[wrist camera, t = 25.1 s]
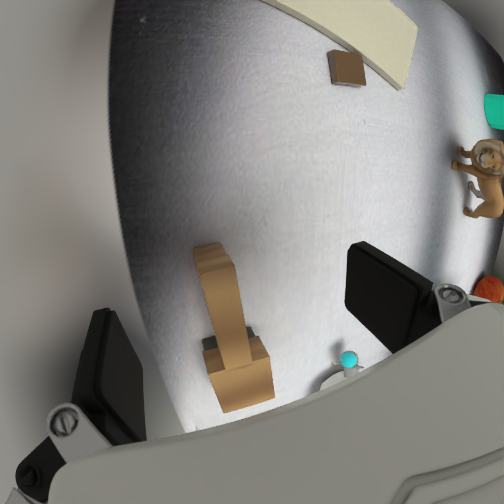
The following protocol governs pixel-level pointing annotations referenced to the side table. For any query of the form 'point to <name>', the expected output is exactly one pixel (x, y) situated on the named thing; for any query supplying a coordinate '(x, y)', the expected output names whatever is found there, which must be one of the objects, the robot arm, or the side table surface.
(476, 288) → the fruit
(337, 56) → the mud flake
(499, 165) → the lion figurine
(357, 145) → the side table surface
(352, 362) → the perfume bottle
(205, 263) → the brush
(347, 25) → the tile
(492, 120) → the candle
